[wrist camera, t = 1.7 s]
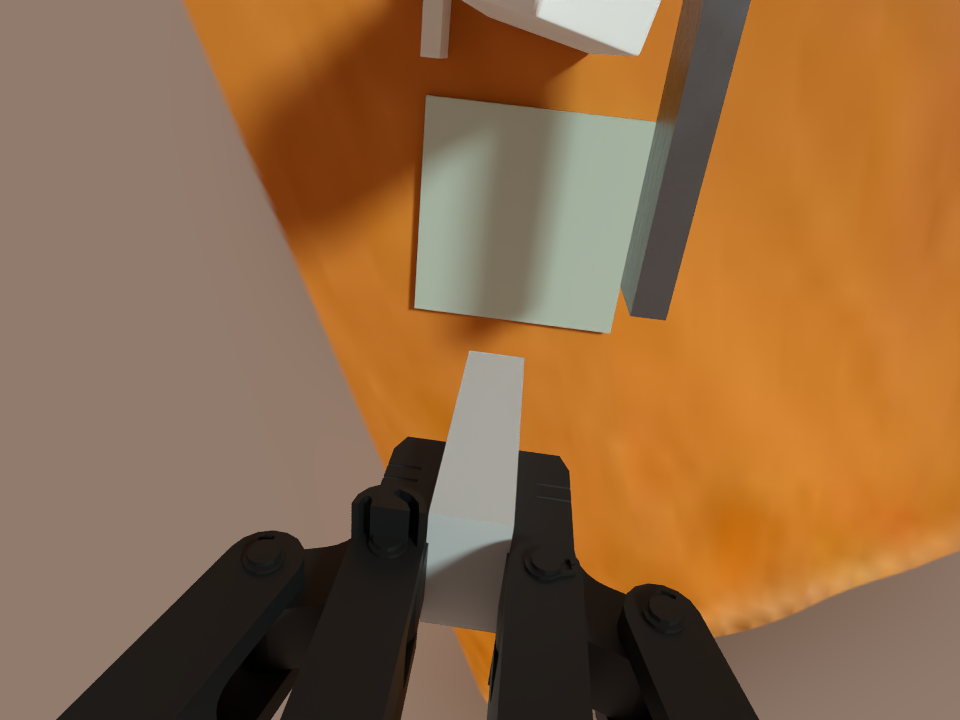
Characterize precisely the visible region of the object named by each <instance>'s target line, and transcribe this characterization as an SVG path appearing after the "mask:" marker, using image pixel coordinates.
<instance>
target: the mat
mask: <svg viewBox="0 0 960 720" xmlns="http://www.w3.org/2000/svg"><path fill="white" fill-rule="evenodd" d="M655 126H656V122H654V121H645V120H637V119H628V118H620V117H611V116H603V115H594V114H586V113H577V112H569V111H560V110H552V109H543V108H534V107H526V106H517V105H509V104H500V103H492V102H483V101H475V100H466V99H458V98H449V97H441V96H432V95H426V104H425V123H424V141H423V159H422V178H421V196H420V214H419V233H418V251H417V270H416V288H415V306H414V308H418V309H426V310H434V311H441V312H449V313H457V314H464V315H472V316H480V317H487V318H495V319H503V320H511V321H518V322H526V323H534V324H541V325H549V326H557V327H564V328H572V329H580V330H587V331H595V332H603V333H610V331H611V327H612V322H613V318H614V313H615V309H616V304H617V300H618V295H619V291H620V284H621V280H622V275H623V271H624V266H625V262H626V257H627V253H628V248H629V244H630V239H631V235H632V230H633V226H634V221H635V217H636V212H637V207H638V203H639V198H640V194H641V189H642V185H643V180H644V176H645V171H646V167H647V162H648V158H649V153H650V149H651V144H652V140H653V135H654V131H655Z"/></svg>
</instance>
